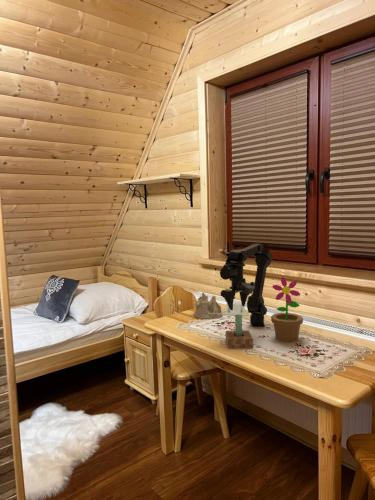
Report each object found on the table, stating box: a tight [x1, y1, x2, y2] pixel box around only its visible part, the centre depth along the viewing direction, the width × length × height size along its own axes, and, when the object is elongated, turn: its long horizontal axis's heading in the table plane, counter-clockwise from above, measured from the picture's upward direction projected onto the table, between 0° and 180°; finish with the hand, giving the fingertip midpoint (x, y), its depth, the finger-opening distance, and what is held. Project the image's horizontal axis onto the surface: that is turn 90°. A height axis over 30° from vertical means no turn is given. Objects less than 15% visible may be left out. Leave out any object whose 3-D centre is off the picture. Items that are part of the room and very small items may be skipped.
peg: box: [234, 314, 243, 336], centre depth 167 cm, size 3×3×13 cm
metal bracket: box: [221, 302, 249, 317], centre depth 217 cm, size 14×6×15 cm
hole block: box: [225, 329, 254, 349], centre depth 168 cm, size 11×11×4 cm
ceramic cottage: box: [193, 291, 224, 320], centre depth 213 cm, size 16×16×15 cm
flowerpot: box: [270, 276, 304, 343], centre depth 171 cm, size 14×14×30 cm
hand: (237, 308), depth 178 cm, fingers open, 9 cm apart
